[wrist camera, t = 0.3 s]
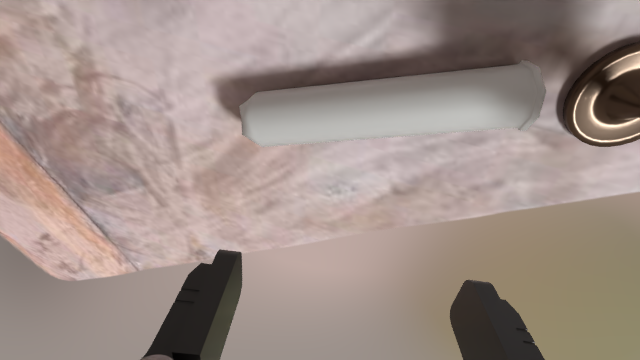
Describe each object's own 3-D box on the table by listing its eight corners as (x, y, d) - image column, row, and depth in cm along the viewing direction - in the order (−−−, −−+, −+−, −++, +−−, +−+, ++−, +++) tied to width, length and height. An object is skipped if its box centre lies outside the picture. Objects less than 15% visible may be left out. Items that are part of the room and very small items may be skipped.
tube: (246, 160, 30) (526, 141, 26) (223, 119, 26) (554, 89, 22) (255, 122, 33) (507, 100, 29) (237, 80, 29) (527, 47, 25)
